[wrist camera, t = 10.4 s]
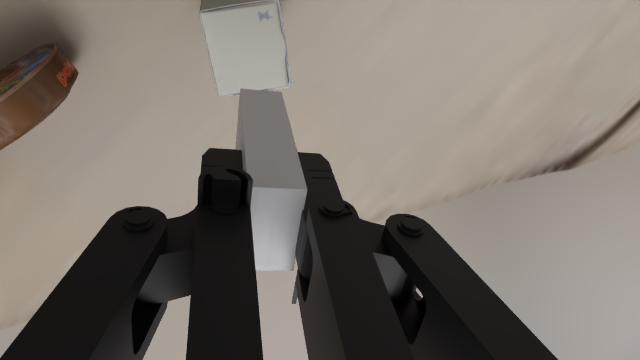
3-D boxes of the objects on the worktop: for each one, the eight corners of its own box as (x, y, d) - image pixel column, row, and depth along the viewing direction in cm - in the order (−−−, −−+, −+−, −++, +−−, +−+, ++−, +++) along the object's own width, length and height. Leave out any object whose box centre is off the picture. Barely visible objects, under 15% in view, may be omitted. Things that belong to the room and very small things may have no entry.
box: (203, -32, 33) (195, 3, 24) (265, -40, 34) (280, -7, 25) (219, 43, 36) (217, 100, 27) (275, 35, 37) (292, 89, 27)
